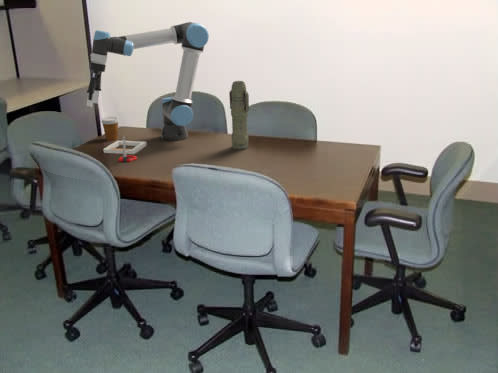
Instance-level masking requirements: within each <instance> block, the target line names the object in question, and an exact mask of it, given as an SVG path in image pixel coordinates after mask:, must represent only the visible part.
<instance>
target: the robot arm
mask: <svg viewBox="0 0 498 373" xmlns="http://www.w3.org/2000/svg"><path fill="white" fill-rule="evenodd" d="M209 37H210V36H209V31H208V30H207V28H206V26H204V25H203V24H200V23H199V22H191V21H188V22H184V23H181V24H175V25H172V26H170V27H169V28H164V29H158V30H153V31H146V32H140V33H134V34H126V35H122V36H121V35H120V36H111V33H110V32H109V31H108V32H107V31H103V30H99V29H97V30H95V31H94V35H93V38H92V45H91V46H92V47H91V54H90V55H89V56H90V61H91V62H89V70H92V72H91V74H90V79H89V84H88V88H87V91H86V93H87V99H86V100H87V101H86V107H90V108H93V105H94V104H99V97H100V96H99V95H100V92H102V89H101V88H102V73H105V72H106V67H107V65H106V64H107V59H108V53H112V54H115V55H121V56H124V57H125V56H126V57H131V56H132V54H133V52H134V50H136V49H142V48H143V49H144V48H151V47H154V46H163V45H165V44H174V45H178V44H181V45H180V46H181V49H182V50H183V52H182V57H181V63H180V66H179V68H180V69H179V73H178V77H177V83H176V89H175V94H174V96H170V97H169V96H168V97H163V98H162V99H161V109H162V110H161V112H162V123H163V125H162V128H161V133H160V139H161V140H164V141H182V140H185V139H187V138H188V131H187V130H188V129H187V128H186V126H187V125H189V124H190V123H191V121H192V120H193V117H194V112H193V109H192V108H193V103H194V102H193V100H192V94H193V89H194V83H195V79H196V74H197V69H198V64H199V58H200V54H202V53H203V52H204V48H205V45H207V43H208V41H209Z"/></svg>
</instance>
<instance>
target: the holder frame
mask: <svg viewBox="0 0 498 373" xmlns="http://www.w3.org/2000/svg"><path fill="white" fill-rule="evenodd" d="M125 145H126V147H127V146H129V147H132V146H133V148H126V154H127V155H135V154H137V153H139V151H141V150H143V149H144V148H145V147H147V145H148V144H147V141H137V140H134V141H133V140H125ZM119 146H123V140H115V141H114V142H113V143H111V144H109V145H107V146H106V147H105V148H103V153H104V154H119V155H120V154H121V155H123V148H117V147H119Z"/></svg>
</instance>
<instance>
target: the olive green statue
mask: <svg viewBox="0 0 498 373" xmlns="http://www.w3.org/2000/svg"><path fill="white" fill-rule="evenodd" d="M228 94H229V109H230V117H231V125H232V127H231V128H232V129H231V130H232V131H231V148H232V149H233V150H246V149H249V133H248V115H249V114H248V113H249V110H250V109H249V108H250V105H249V103H250V102H249V100H250V99H249V98H250V97H249V96H250V95H249V92H248V91H247V86H246V83H245V82H244V81H243V80H235V81H233V82H232V84H231V88H230V90H229V93H228Z"/></svg>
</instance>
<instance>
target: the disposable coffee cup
mask: <svg viewBox="0 0 498 373" xmlns="http://www.w3.org/2000/svg"><path fill="white" fill-rule="evenodd" d="M101 123H102V126H103V131H104V136H105V140H106V141H108V142H109V141H110V142H112V141H114V142H116V141H118V137H119V136H118V134H119V131H118V130H119V118H118V117H117V116H116V117H114V116H111V117H110V116H109V117H108V116H107V117H103V118H101Z"/></svg>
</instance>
